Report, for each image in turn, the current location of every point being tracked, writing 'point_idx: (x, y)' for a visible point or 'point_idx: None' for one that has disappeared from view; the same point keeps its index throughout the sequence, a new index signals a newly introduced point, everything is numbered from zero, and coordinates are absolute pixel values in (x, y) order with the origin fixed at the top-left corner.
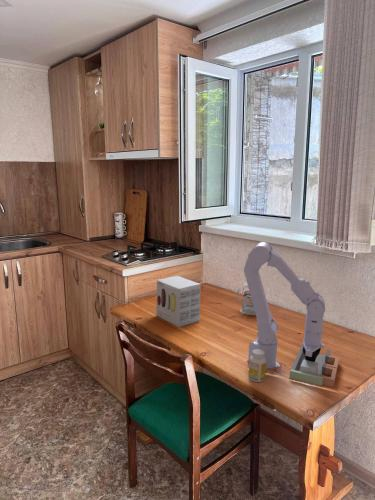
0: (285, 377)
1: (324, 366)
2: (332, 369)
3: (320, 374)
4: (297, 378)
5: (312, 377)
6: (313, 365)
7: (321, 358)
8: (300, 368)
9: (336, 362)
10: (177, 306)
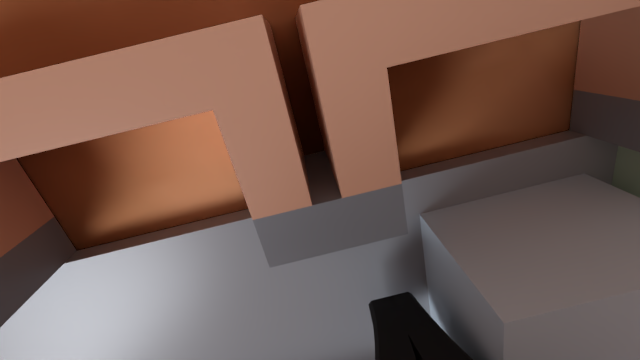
0: None
1: (377, 212)
2: (383, 70)
3: (416, 183)
4: None
5: None
6: (631, 335)
7: (15, 319)
8: None
9: (33, 107)
10: None
